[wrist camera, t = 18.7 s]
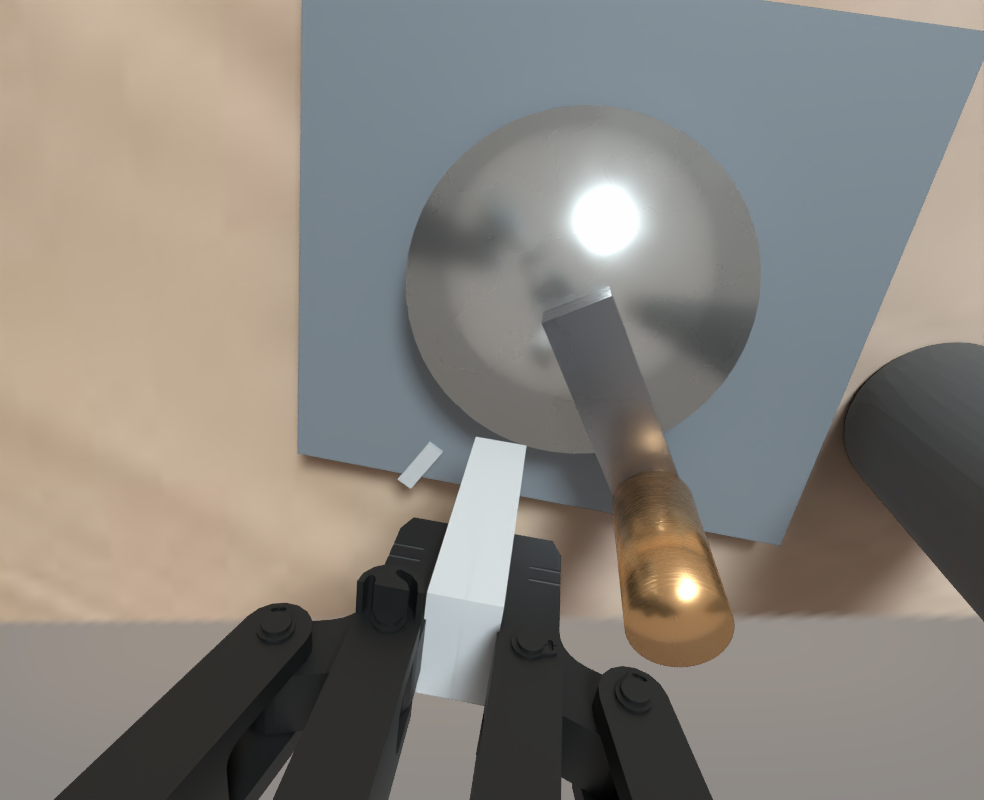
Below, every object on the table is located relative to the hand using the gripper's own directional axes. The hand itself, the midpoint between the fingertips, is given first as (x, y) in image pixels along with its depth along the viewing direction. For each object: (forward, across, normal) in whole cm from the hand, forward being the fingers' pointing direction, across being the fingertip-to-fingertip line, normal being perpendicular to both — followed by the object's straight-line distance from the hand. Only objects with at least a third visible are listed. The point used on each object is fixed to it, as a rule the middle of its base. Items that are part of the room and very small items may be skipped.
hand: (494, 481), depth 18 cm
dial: (+3, +2, +5) cm, 6 cm away
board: (+5, +2, +5) cm, 8 cm away
